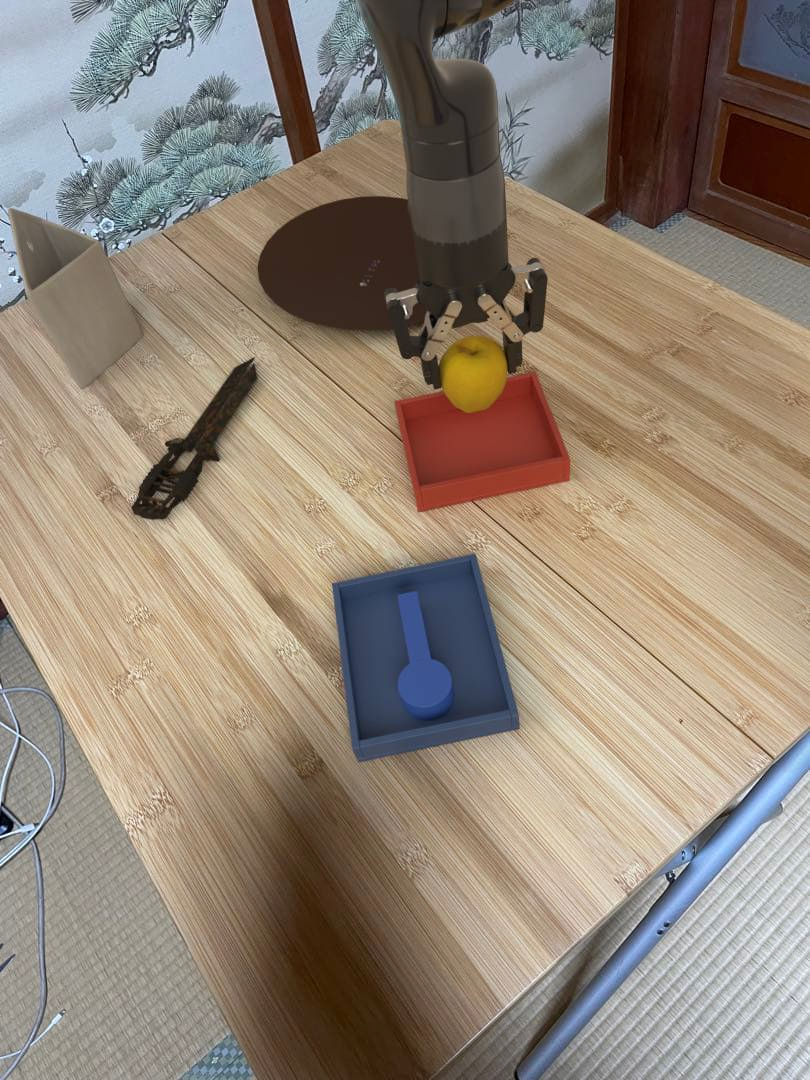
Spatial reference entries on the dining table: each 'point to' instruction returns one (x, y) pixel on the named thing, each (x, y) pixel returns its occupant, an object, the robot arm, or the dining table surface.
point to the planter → (74, 295)
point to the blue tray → (454, 640)
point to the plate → (343, 263)
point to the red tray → (481, 445)
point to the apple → (473, 373)
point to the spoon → (422, 667)
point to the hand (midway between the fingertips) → (473, 375)
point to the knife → (187, 445)
